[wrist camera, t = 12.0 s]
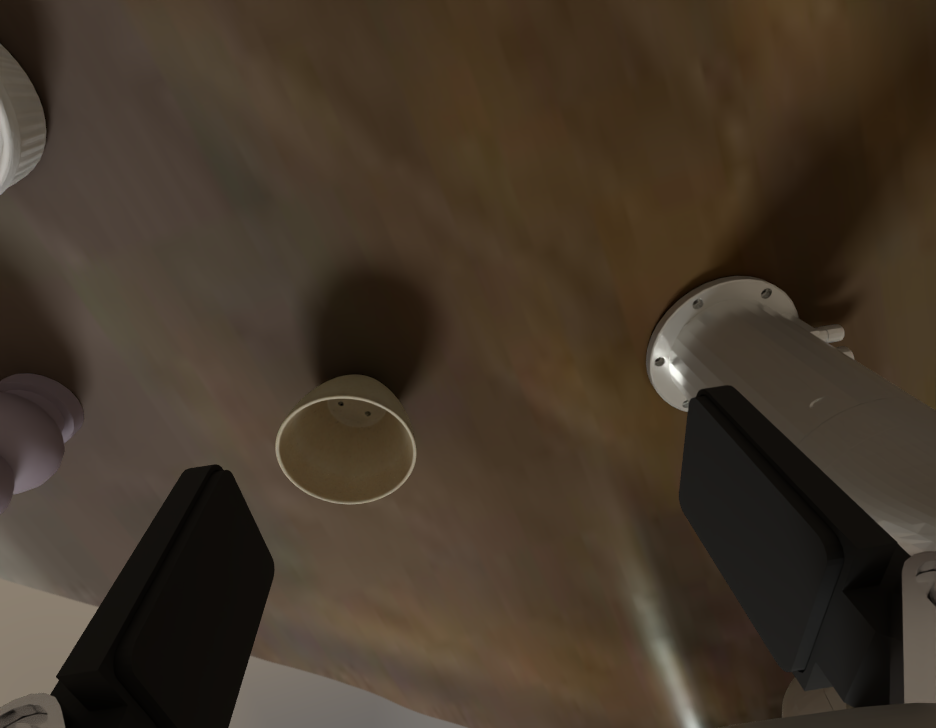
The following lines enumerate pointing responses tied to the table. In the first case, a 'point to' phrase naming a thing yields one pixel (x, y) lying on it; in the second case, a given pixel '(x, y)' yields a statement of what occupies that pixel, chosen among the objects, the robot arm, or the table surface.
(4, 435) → the cat figurine
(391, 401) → the flower pot
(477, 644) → the table surface
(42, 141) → the ramekin
